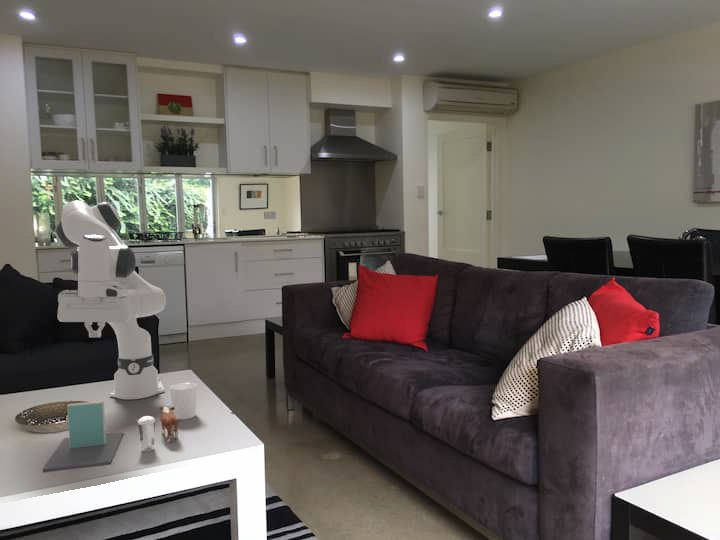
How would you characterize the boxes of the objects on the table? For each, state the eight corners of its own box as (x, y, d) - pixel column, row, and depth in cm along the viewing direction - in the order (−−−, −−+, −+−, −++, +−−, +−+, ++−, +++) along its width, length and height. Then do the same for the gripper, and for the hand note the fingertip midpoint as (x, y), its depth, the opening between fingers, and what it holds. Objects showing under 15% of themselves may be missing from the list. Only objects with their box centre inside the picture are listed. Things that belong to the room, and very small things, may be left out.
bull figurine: (174, 427, 176) (173, 401, 175) (181, 442, 164) (179, 414, 163) (159, 430, 174) (157, 403, 173) (164, 445, 162) (163, 417, 161)
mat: (64, 440, 167) (64, 438, 167) (123, 434, 171) (123, 432, 171) (42, 471, 146) (42, 469, 146) (110, 463, 150) (110, 461, 150)
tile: (71, 445, 161) (68, 403, 160) (106, 442, 164) (103, 400, 163) (69, 448, 159) (67, 406, 158) (105, 444, 162) (102, 402, 161)
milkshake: (133, 449, 159) (131, 414, 158) (153, 445, 162) (151, 410, 161) (138, 455, 155) (136, 418, 155) (159, 449, 159) (157, 414, 158)
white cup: (190, 421, 181) (188, 389, 181) (167, 419, 183) (165, 388, 182) (202, 412, 189) (200, 382, 188) (179, 411, 191) (178, 382, 190)
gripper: (53, 290, 166) (53, 338, 167) (126, 291, 168) (126, 339, 168) (62, 289, 172) (63, 335, 173) (133, 289, 174) (133, 335, 175)
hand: (95, 337), depth 171 cm, fingers closed
